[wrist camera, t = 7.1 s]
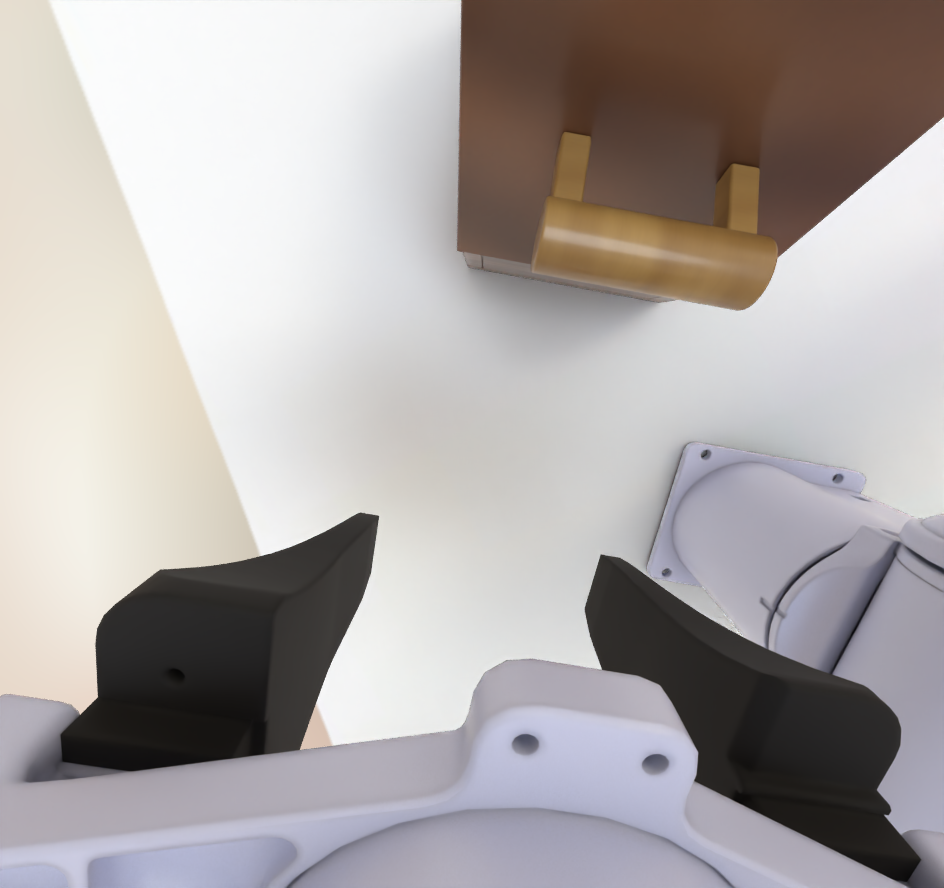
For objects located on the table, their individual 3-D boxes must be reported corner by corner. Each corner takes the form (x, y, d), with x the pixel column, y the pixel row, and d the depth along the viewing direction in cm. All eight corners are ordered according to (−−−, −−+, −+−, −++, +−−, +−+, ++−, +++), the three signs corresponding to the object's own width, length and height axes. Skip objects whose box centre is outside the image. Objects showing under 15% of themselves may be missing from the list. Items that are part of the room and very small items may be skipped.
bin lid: (484, -652, 4) (386, -388, 3) (1524, -438, 4) (1717, -126, 3) (460, 234, 15) (438, 341, 14) (728, 283, 15) (721, 393, 14)
